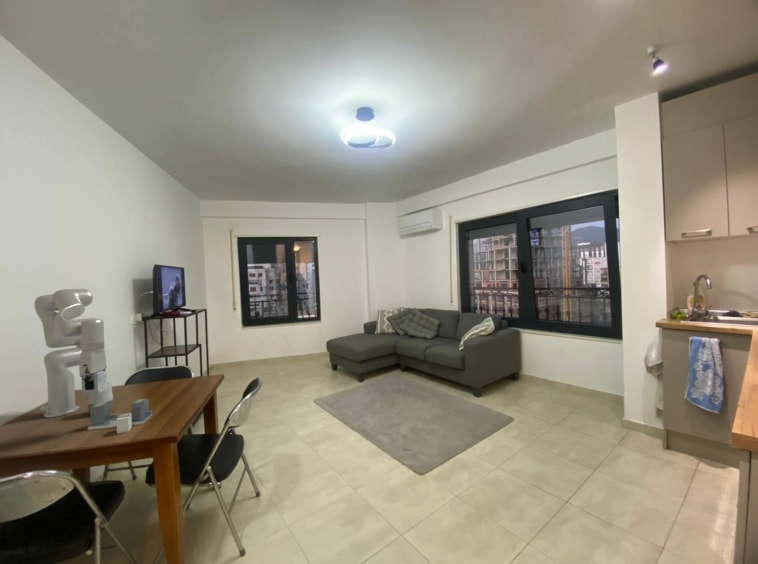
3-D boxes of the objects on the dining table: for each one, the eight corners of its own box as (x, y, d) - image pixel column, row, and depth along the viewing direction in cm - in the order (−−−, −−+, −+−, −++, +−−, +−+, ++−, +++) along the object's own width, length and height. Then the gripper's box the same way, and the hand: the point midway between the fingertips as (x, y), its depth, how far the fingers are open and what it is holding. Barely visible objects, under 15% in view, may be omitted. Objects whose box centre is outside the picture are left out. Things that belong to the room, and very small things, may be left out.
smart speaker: (84, 417, 150) (84, 388, 150) (92, 410, 158) (91, 383, 158) (109, 413, 154) (109, 385, 154) (116, 407, 162) (115, 380, 162)
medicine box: (107, 389, 142) (107, 370, 142) (98, 393, 137) (97, 373, 137) (91, 390, 142) (91, 371, 142) (81, 393, 138) (80, 373, 138)
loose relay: (116, 433, 132) (116, 419, 132) (120, 429, 137) (119, 414, 137) (128, 431, 134) (128, 416, 134) (131, 426, 139) (131, 412, 139)
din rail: (87, 430, 137) (86, 408, 137) (101, 421, 145) (100, 400, 145) (142, 424, 141) (141, 403, 141) (152, 415, 150) (151, 396, 150)
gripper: (97, 344, 148) (98, 382, 147) (68, 351, 131) (69, 394, 131) (115, 343, 149) (116, 380, 149) (88, 350, 132) (90, 393, 132)
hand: (94, 387), depth 140 cm, fingers closed on medicine box, 5 cm apart
